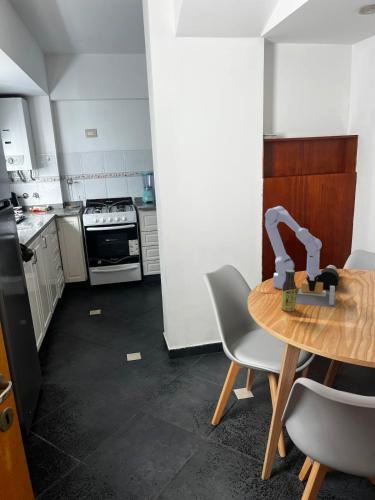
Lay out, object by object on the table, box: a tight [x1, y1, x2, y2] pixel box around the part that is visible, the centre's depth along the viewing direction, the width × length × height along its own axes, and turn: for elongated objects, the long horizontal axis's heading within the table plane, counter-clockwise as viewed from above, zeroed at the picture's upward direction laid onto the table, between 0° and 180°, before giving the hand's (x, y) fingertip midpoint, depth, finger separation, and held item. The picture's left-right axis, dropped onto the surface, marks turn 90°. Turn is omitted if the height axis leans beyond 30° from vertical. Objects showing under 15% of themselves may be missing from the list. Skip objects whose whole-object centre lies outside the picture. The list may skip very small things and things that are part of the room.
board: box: [296, 288, 337, 308], centre depth 179 cm, size 18×20×2 cm
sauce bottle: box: [280, 269, 297, 313], centre depth 165 cm, size 6×6×20 cm
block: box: [300, 280, 324, 293], centre depth 184 cm, size 10×4×4 cm, turn 69°
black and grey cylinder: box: [317, 264, 340, 291], centre depth 202 cm, size 10×34×10 cm, turn 155°
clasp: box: [329, 286, 336, 305], centre depth 171 cm, size 2×9×7 cm, turn 159°
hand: (312, 289), depth 184 cm, fingers closed on block, 4 cm apart
